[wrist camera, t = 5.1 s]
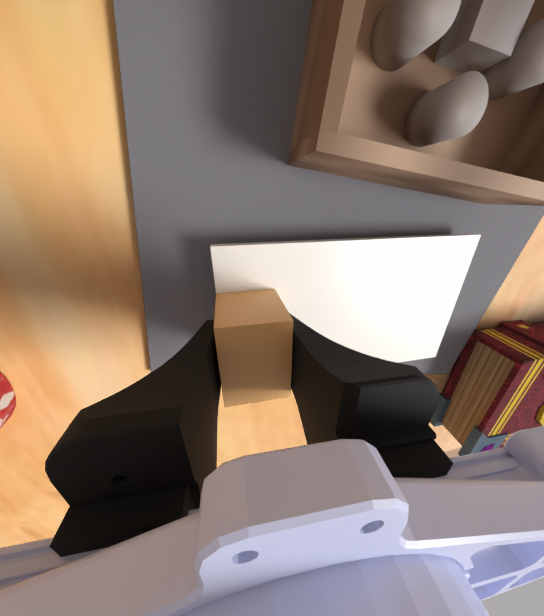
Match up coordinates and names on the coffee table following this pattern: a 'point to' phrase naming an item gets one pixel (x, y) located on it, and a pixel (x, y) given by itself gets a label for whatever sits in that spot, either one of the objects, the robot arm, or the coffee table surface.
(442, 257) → the lid
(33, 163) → the coffee table surface
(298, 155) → the tub
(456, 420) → the decorative book
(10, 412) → the mug
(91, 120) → the coffee table surface
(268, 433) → the coffee table surface
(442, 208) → the mat
